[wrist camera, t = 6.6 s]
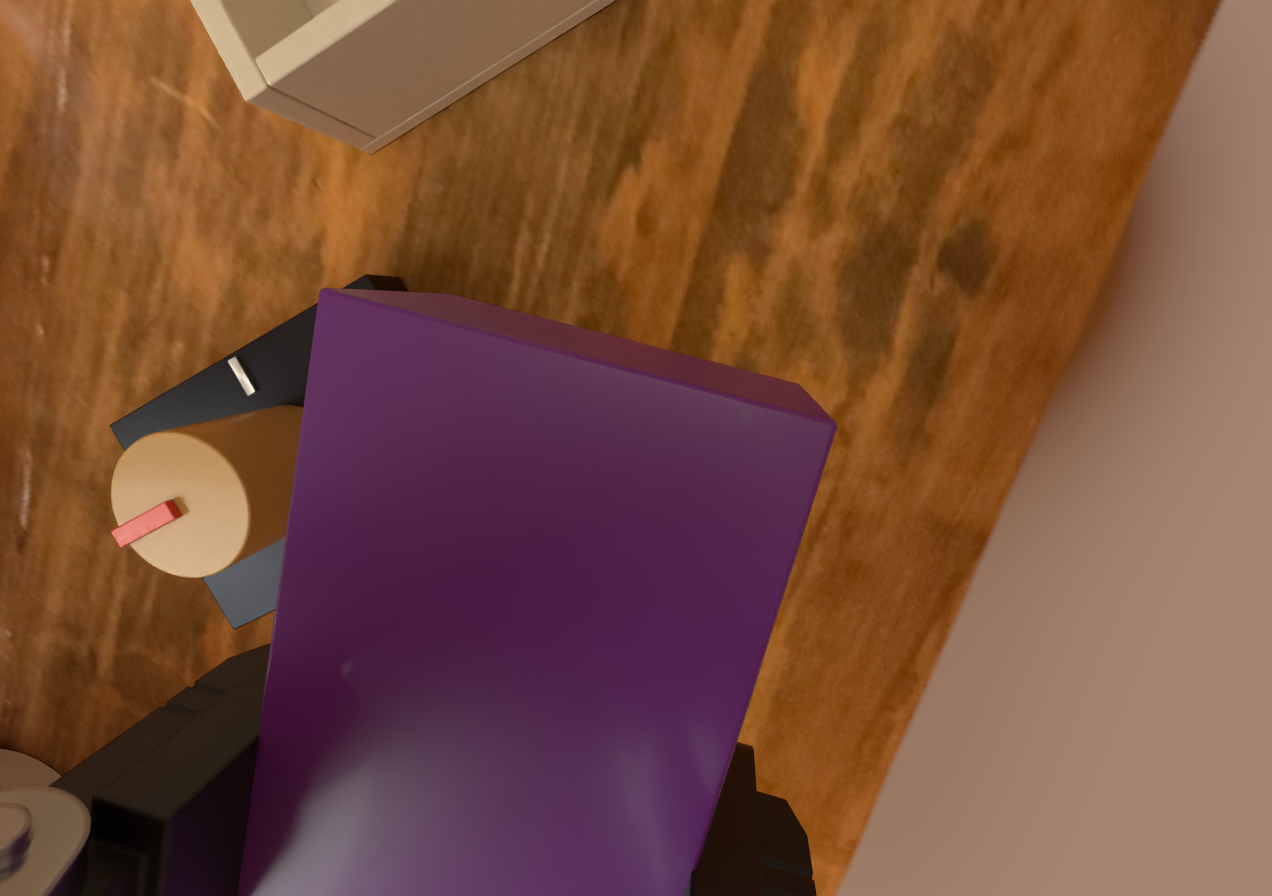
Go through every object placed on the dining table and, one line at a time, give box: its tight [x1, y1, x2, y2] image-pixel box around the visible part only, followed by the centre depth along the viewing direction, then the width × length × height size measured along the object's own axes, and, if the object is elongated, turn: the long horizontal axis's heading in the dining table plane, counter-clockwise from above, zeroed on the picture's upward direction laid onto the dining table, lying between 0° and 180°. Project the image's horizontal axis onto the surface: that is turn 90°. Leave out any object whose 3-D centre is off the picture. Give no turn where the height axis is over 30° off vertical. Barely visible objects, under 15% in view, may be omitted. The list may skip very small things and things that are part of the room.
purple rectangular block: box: [237, 288, 837, 896], centre depth 8 cm, size 11×4×3 cm, turn 166°
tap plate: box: [110, 274, 408, 629], centre depth 27 cm, size 12×9×3 cm
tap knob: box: [111, 405, 303, 578], centre depth 23 cm, size 4×4×6 cm
